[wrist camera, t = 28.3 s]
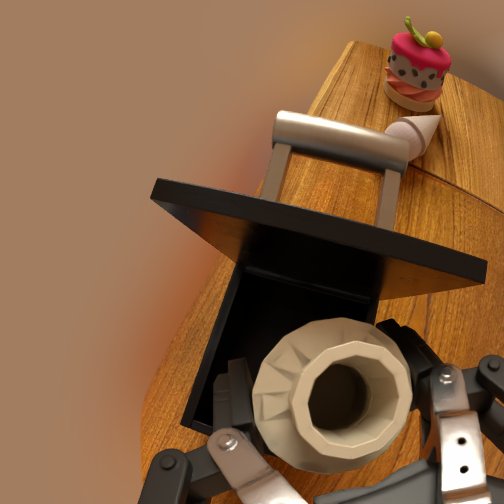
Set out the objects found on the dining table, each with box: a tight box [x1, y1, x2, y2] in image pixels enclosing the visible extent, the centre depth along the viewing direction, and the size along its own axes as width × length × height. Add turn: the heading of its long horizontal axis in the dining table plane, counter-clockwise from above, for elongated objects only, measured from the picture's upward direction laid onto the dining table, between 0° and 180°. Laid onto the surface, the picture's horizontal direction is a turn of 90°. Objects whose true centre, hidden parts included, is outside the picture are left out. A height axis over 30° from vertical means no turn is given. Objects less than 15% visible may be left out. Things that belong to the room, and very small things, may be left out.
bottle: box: [252, 317, 413, 475], centre depth 11 cm, size 6×6×10 cm
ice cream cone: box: [385, 115, 442, 161], centre depth 36 cm, size 6×6×15 cm
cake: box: [384, 16, 451, 112], centre depth 37 cm, size 10×11×15 cm
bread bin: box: [180, 263, 379, 457], centre depth 25 cm, size 14×12×9 cm
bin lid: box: [150, 110, 488, 300], centre depth 16 cm, size 14×12×6 cm
